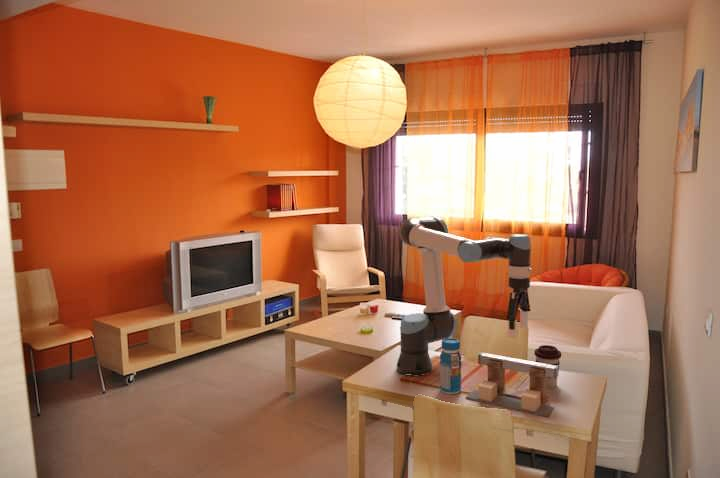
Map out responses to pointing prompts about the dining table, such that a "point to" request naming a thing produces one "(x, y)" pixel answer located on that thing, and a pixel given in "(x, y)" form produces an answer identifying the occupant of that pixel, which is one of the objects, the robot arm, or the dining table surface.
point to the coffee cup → (548, 360)
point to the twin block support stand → (510, 399)
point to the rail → (519, 364)
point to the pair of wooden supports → (536, 384)
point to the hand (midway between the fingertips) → (518, 332)
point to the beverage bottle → (450, 366)
